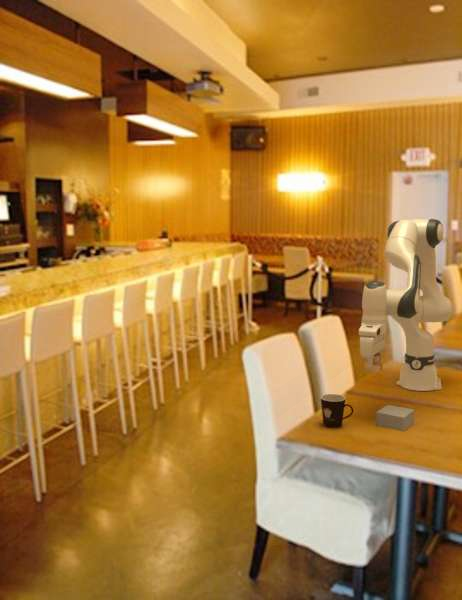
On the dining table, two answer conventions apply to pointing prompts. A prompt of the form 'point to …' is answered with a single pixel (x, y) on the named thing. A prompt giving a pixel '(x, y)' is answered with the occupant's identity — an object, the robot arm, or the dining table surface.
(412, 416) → the block
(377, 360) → the oak cube
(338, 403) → the coffee mug
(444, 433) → the dining table surface
